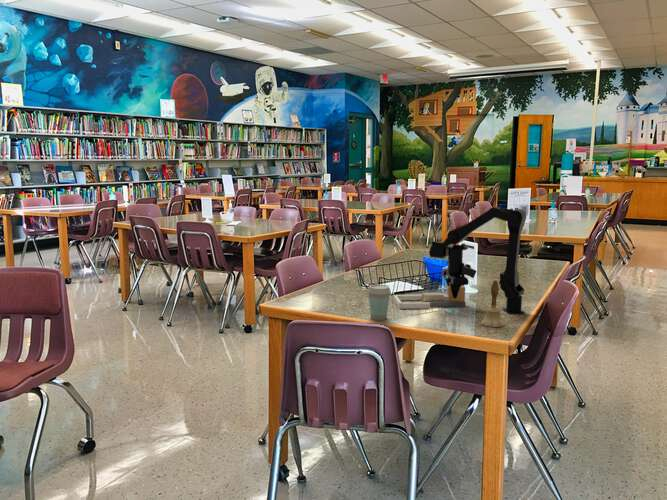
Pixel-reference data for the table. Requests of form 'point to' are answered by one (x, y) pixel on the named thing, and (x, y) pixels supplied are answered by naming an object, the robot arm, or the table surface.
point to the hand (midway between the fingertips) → (453, 297)
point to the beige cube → (438, 297)
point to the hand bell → (493, 310)
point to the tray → (409, 305)
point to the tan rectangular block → (449, 296)
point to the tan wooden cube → (427, 297)
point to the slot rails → (448, 304)
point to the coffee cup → (378, 301)
